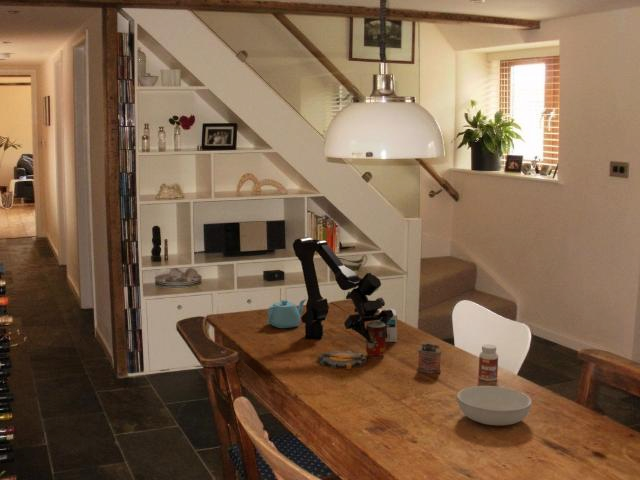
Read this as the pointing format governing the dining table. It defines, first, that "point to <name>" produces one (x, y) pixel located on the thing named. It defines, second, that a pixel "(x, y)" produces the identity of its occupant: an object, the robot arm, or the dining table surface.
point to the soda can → (376, 339)
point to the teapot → (285, 314)
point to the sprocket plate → (341, 359)
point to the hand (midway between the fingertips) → (378, 338)
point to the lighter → (429, 358)
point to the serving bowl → (494, 404)
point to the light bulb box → (391, 327)
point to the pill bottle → (488, 363)
